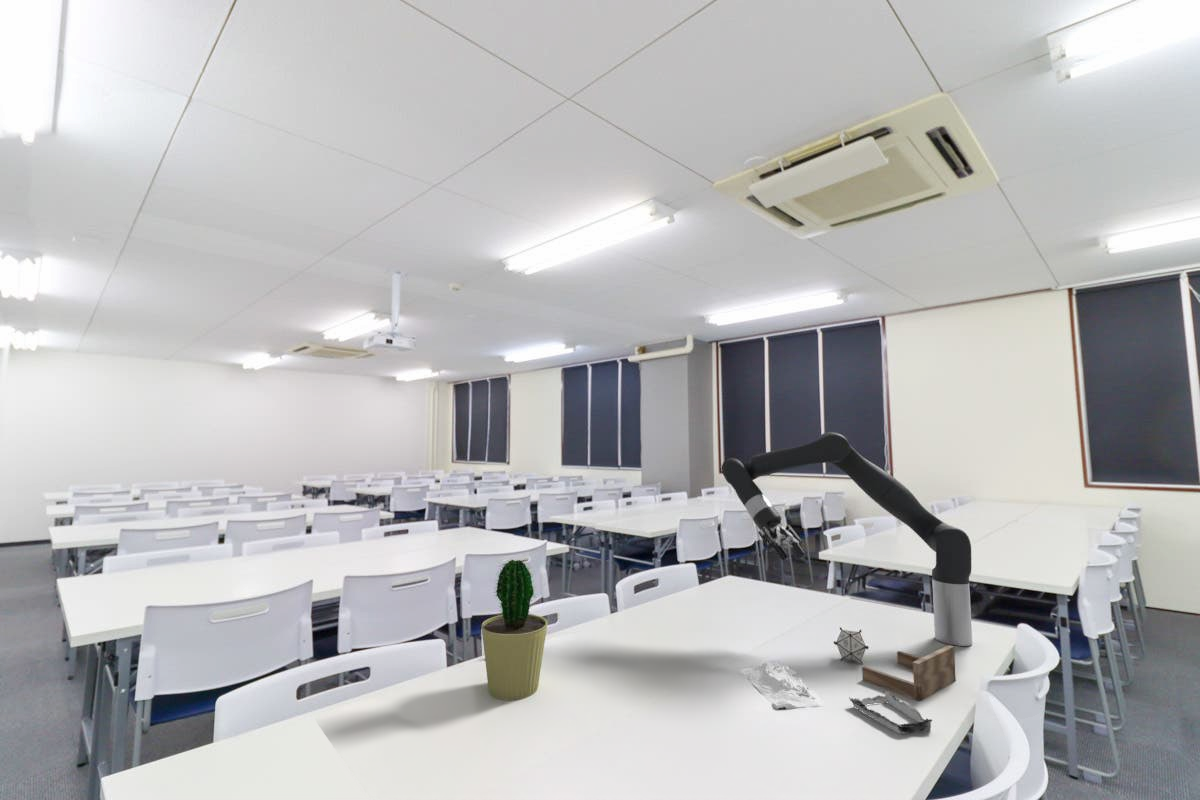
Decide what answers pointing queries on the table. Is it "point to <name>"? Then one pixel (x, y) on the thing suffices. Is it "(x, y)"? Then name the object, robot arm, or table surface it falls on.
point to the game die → (851, 645)
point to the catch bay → (918, 674)
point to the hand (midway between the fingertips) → (794, 557)
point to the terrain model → (781, 686)
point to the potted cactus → (514, 637)
